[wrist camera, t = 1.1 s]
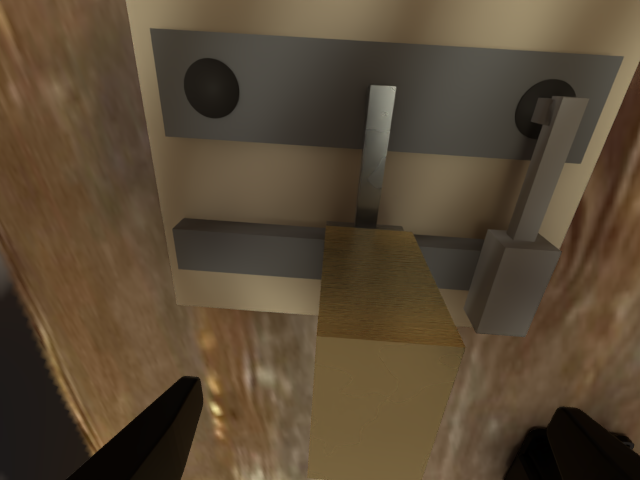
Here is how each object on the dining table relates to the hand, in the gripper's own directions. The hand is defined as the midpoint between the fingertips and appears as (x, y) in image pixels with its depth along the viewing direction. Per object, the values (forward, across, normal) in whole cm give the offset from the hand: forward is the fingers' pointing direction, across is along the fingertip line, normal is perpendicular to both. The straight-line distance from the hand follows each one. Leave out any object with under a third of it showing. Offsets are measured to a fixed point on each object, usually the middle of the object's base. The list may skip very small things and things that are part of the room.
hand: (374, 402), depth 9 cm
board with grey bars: (+9, 0, -3) cm, 10 cm away
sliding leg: (+7, 0, -2) cm, 8 cm away
